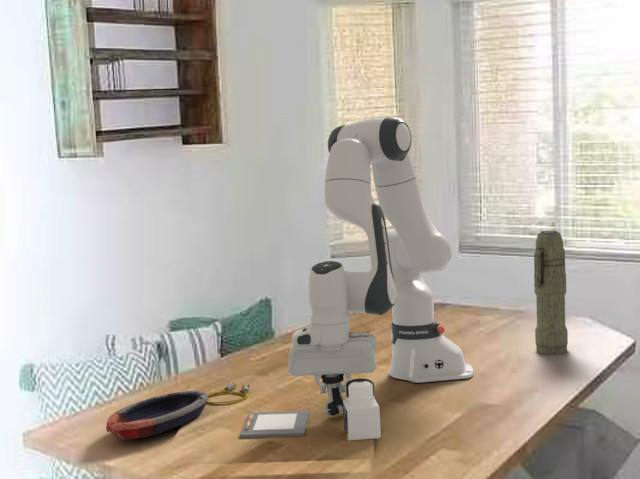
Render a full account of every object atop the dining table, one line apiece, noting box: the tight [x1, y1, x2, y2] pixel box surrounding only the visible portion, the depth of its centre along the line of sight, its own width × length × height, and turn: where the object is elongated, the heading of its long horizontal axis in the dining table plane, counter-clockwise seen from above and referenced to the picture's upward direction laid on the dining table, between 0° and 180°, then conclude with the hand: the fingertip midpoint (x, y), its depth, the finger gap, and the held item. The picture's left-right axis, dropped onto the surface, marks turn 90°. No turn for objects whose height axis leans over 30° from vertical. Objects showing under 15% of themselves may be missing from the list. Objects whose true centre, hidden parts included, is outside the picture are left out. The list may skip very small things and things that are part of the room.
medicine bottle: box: [342, 378, 382, 441], centre depth 193 cm, size 7×7×12 cm
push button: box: [321, 374, 345, 416], centre depth 206 cm, size 7×5×10 cm
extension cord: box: [206, 381, 251, 406], centre depth 229 cm, size 12×16×2 cm
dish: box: [105, 390, 209, 440], centre depth 208 cm, size 16×31×5 cm, turn 144°
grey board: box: [239, 410, 309, 439], centre depth 203 cm, size 14×16×1 cm
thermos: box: [533, 230, 569, 356], centre depth 255 cm, size 9×12×35 cm
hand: (333, 392), depth 206 cm, fingers closed on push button, 3 cm apart
